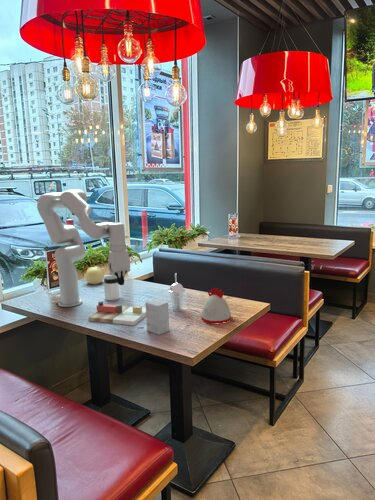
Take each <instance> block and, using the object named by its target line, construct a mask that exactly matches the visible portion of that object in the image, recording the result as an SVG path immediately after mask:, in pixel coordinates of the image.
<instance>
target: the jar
mask: <svg viewBox="0 0 375 500" xmlns="http://www.w3.org/2000/svg"><path fill="white" fill-rule="evenodd" d="M120 286H121V285H119V284H118V281H117V277H116V276H115V275H107V276H104V279H103V287H104V288H103V289H104V300H105V301H106V300H107V301H115V300H119V299H120V298H121V289H120V288H121V287H120Z"/></svg>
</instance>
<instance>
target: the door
mask: <svg viewBox="0 0 375 500" xmlns="http://www.w3.org/2000/svg"><path fill="white" fill-rule="evenodd" d="M128 307H129V308H128V309H126V310H125V311H124V312H122V313H121V314H119V315H118V316H117V317H115V318H114V319H113V323H112V324H118V325H128V326H135V325H137V324H138V323H139V322H140V321H141V320H142V319H144V318H145V317H146V307H143V306H140V305H133V306H128Z"/></svg>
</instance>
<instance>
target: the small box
mask: <svg viewBox="0 0 375 500" xmlns="http://www.w3.org/2000/svg"><path fill="white" fill-rule="evenodd" d="M145 308H146V316H145V317H146V320H145V321H146V331H147V332H151V333H153V334H155V335H159V336H160V335H162V334H165V333H166V332H167V333H168V332H169V331H170V317H169V316H170V315H169V302H168V301H164V300H160V299H157V298H155V299H151V300H149V301H146V302H145Z"/></svg>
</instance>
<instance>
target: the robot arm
mask: <svg viewBox="0 0 375 500" xmlns="http://www.w3.org/2000/svg"><path fill="white" fill-rule="evenodd" d="M87 201H88V196H87V194H86V192H84V190H82V189H68V190H64V191H61V192H60V191H59V192H48V193H43V194H40V196H39V197H38V199H37V202H36V208H37V211H38V214H39V216H40V218H41V219H42V221H43V223H44V227H45V228H46V230H47V233H48V235H49V239H50V241H51V242H52V244H54V245H55V246H59V245H61V246H60V247H58V248H57V249H56V250H55V252H54V260H55V263H56V267H57V274H58V275H57V276H58V283H59V294H56V296H55V297H54V299H55V300H58V302H57V305H58V306H59V307H61V308H62V307H63V308H70V307H77V306H80V305H81V304H82V303H83V299H82V298H80V291H79V281H78V271H77V268H76V265H74V263H75V262H78V261H82V260H83V259H84V258H85V257H86V248H85V245H84V242H83V240H82V238H81V237H82V236H81V235H80V233H79V230H78V229H77V228H76V227H75V226H74V225H72V224H66V225H64V224H63V222H62V220H61V219H62V218H61V217H60V215H59V214H58V213H57V212H56V211H54V210H59V209H64V208H67V209H68V211H70V213H72V214H73V215H74V216H75V217H76V218H77V219H78V223H79V226H80V229H81V230H82V231H83V232H84V233H85V234H86V235H88V236H89V238H91V239H93V240H101V239H105V238H109V246H110V251H109V252H108V256H107V257H108V260H107V262H108V263H107V265H108V267H107V268H108V271H109V275H110V276H116V277H117V281H118V284H119V286H124V285H125V277H126V274H127V273H128V272H130V271H131V261H130V260H131V259H130V255H129V251H128V250H127V248H129V244H127V242H126V231H125V230H126V229H125V224H124V223H123V222H111V221H106V222H99V223H96V222H94V220H92V219H91V218H90V217H89V216H90V215H91V213H92V207H91V206H90V204H89V203H87ZM65 244H67V245H65ZM62 245H63V246H62Z"/></svg>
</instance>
